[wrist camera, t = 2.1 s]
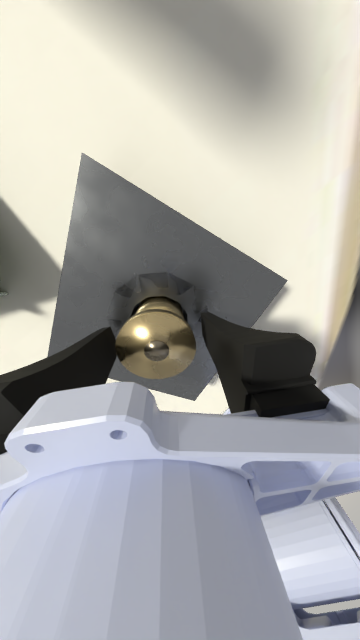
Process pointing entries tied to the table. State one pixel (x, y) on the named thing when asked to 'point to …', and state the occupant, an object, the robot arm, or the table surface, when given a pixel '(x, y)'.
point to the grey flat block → (149, 273)
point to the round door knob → (156, 340)
